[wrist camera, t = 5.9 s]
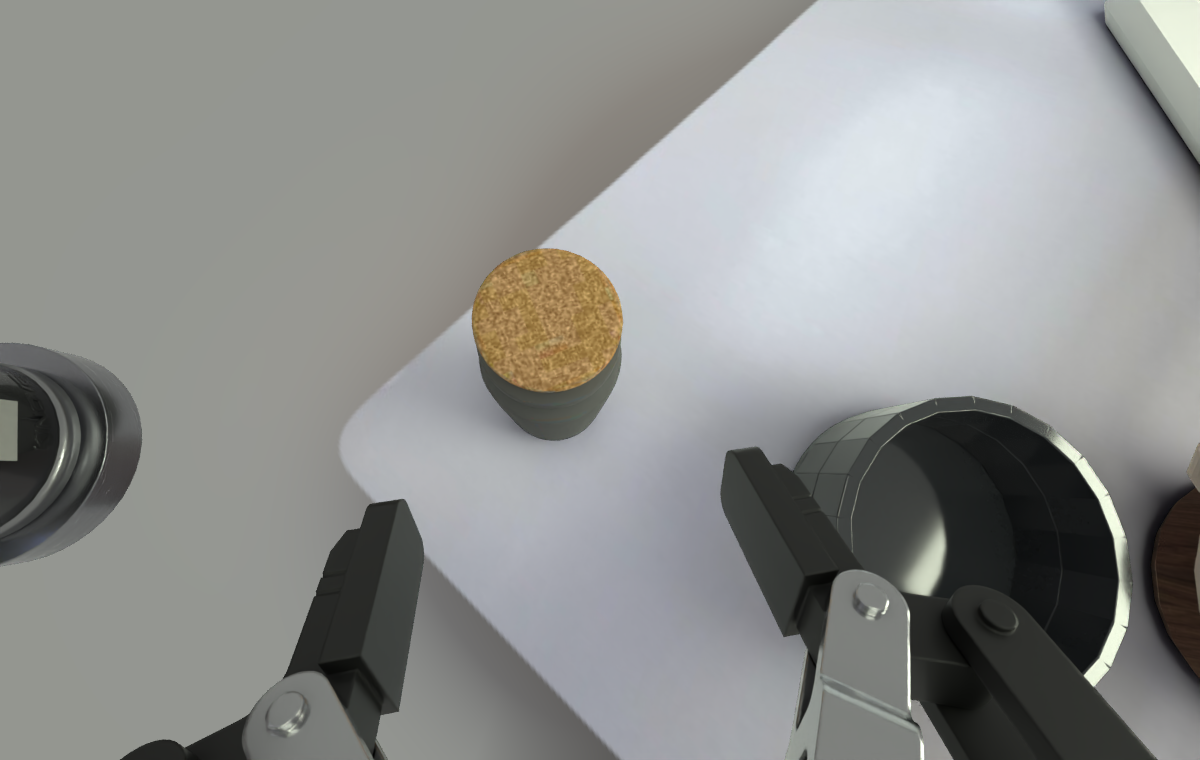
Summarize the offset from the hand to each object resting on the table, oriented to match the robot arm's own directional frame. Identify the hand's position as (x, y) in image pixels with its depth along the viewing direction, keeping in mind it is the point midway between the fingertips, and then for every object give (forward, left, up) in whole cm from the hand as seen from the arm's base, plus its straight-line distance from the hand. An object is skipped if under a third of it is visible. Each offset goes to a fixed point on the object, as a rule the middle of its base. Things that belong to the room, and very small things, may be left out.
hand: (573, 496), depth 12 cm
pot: (+17, -13, -17) cm, 27 cm away
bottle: (+2, +5, -17) cm, 18 cm away
